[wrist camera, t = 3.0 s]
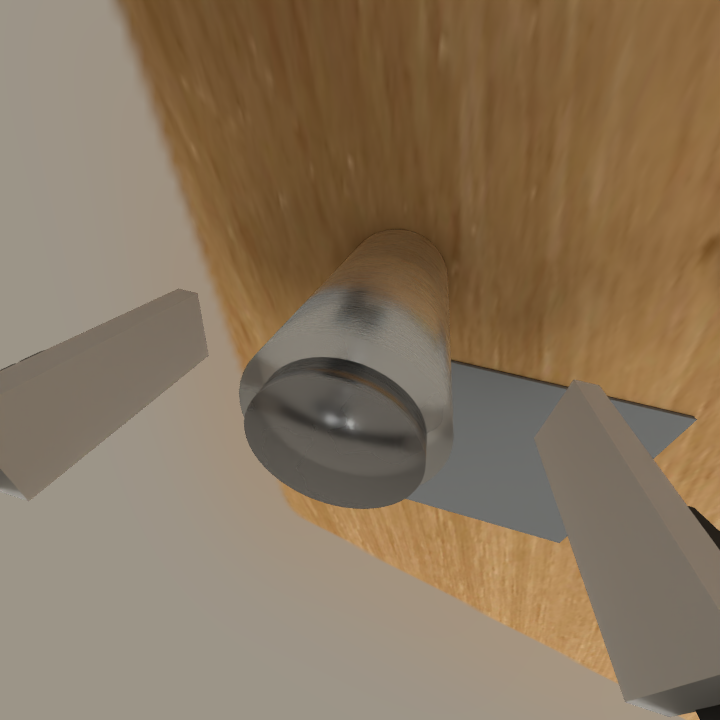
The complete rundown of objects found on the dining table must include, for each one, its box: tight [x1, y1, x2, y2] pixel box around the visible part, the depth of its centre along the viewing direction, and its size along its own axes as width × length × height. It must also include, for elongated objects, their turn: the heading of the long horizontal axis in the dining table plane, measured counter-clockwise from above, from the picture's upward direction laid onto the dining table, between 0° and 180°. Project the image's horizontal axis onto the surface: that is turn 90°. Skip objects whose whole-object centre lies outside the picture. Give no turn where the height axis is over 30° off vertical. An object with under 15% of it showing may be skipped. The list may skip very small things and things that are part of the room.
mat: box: [405, 360, 697, 543], centre depth 22 cm, size 15×15×1 cm
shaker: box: [239, 229, 454, 509], centre depth 12 cm, size 6×6×12 cm
